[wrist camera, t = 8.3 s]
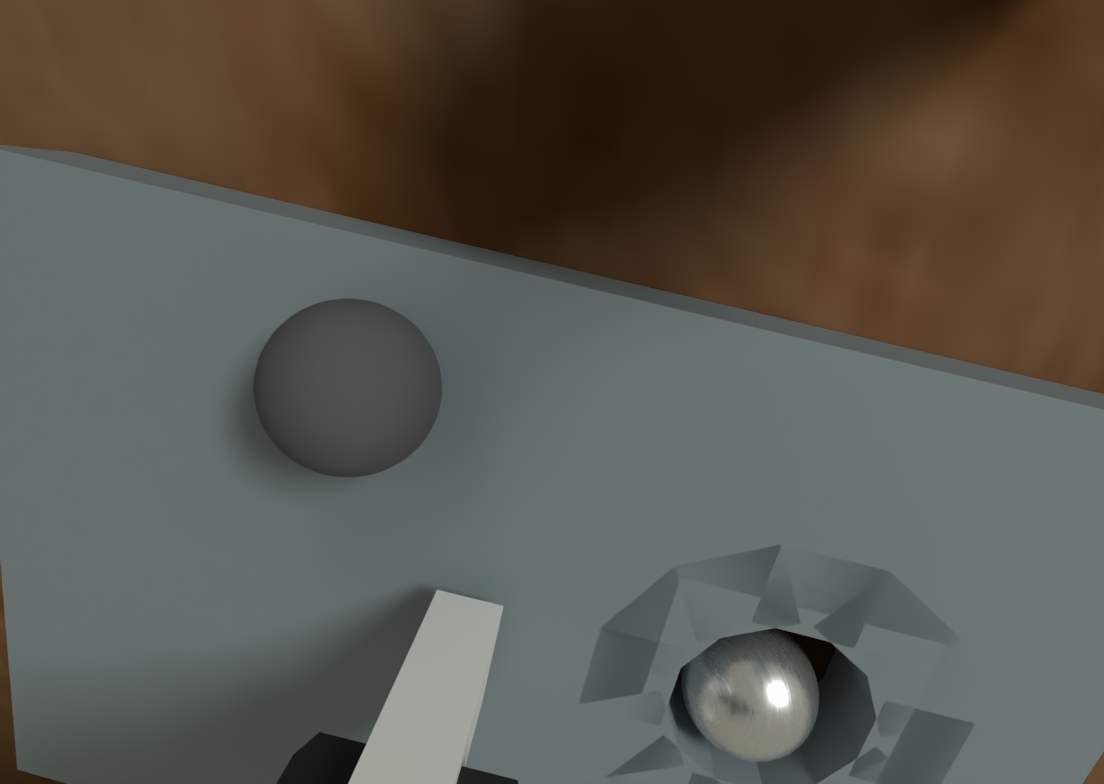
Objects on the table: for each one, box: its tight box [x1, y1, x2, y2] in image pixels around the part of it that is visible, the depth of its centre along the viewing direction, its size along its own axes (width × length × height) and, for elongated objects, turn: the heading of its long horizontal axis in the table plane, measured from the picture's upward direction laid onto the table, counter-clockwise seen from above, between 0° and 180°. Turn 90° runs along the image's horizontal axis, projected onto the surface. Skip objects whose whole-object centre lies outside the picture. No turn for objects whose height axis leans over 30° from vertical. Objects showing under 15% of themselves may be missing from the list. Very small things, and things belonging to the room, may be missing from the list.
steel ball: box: [681, 628, 819, 762], centre depth 15 cm, size 3×3×3 cm
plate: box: [0, 145, 1104, 784], centre depth 15 cm, size 26×17×2 cm, turn 77°
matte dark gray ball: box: [253, 298, 442, 477], centre depth 11 cm, size 3×3×3 cm
